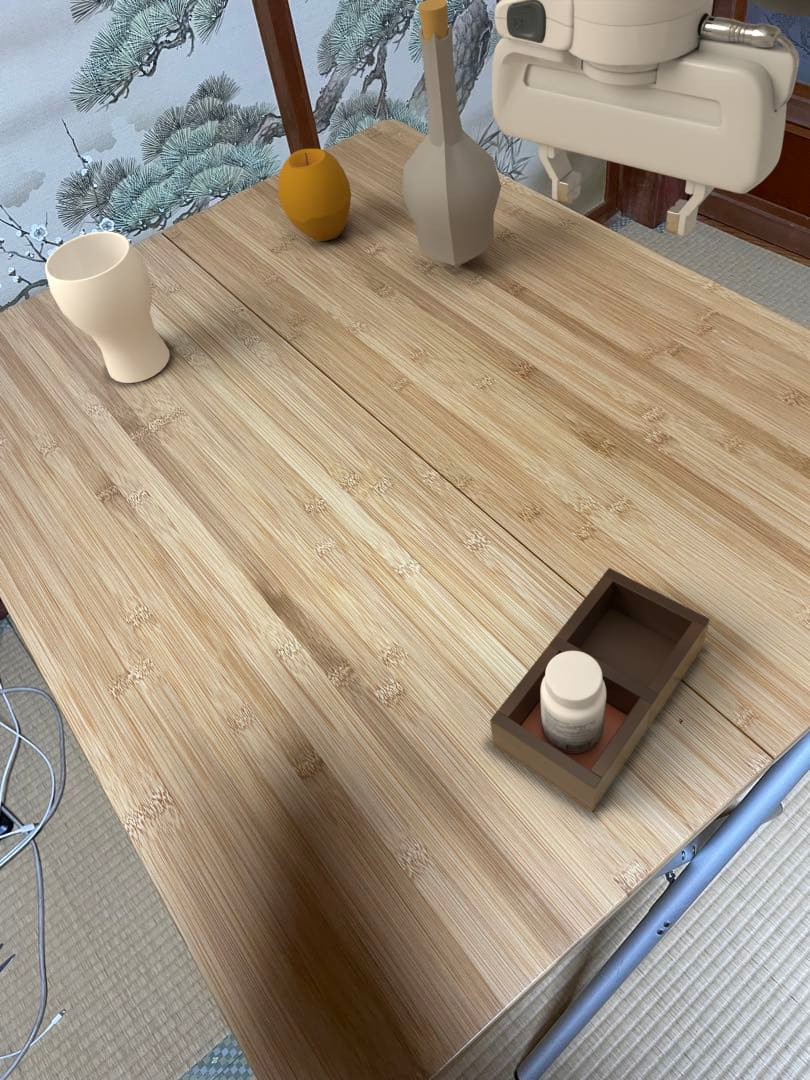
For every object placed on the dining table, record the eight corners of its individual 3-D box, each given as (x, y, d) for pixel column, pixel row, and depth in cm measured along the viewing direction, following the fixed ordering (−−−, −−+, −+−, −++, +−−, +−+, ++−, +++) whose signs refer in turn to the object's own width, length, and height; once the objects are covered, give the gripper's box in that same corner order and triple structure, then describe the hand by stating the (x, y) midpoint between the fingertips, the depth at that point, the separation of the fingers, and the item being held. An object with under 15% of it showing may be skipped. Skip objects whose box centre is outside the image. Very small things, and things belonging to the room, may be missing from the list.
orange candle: (275, 239, 116) (252, 157, 107) (328, 207, 119) (310, 125, 110) (319, 263, 111) (298, 180, 102) (373, 229, 114) (357, 145, 105)
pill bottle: (559, 689, 67) (560, 634, 61) (613, 717, 65) (620, 663, 59) (529, 735, 65) (527, 684, 59) (584, 766, 63) (589, 716, 57)
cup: (106, 403, 99) (47, 297, 87) (90, 354, 105) (33, 249, 94) (190, 371, 101) (143, 262, 89) (170, 324, 107) (123, 217, 95)
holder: (606, 598, 73) (609, 567, 70) (701, 648, 69) (710, 618, 65) (492, 745, 66) (489, 720, 63) (591, 812, 62) (594, 789, 58)
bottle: (401, 286, 105) (359, 28, 82) (433, 236, 111) (402, -19, 88) (485, 297, 102) (467, 30, 78) (514, 245, 108) (504, -19, 84)
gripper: (830, 8, 47) (777, 228, 58) (528, -33, 57) (531, 163, 68) (781, 54, 45) (735, 276, 55) (473, 4, 54) (485, 201, 65)
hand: (621, 214), depth 62 cm, fingers open, 8 cm apart
